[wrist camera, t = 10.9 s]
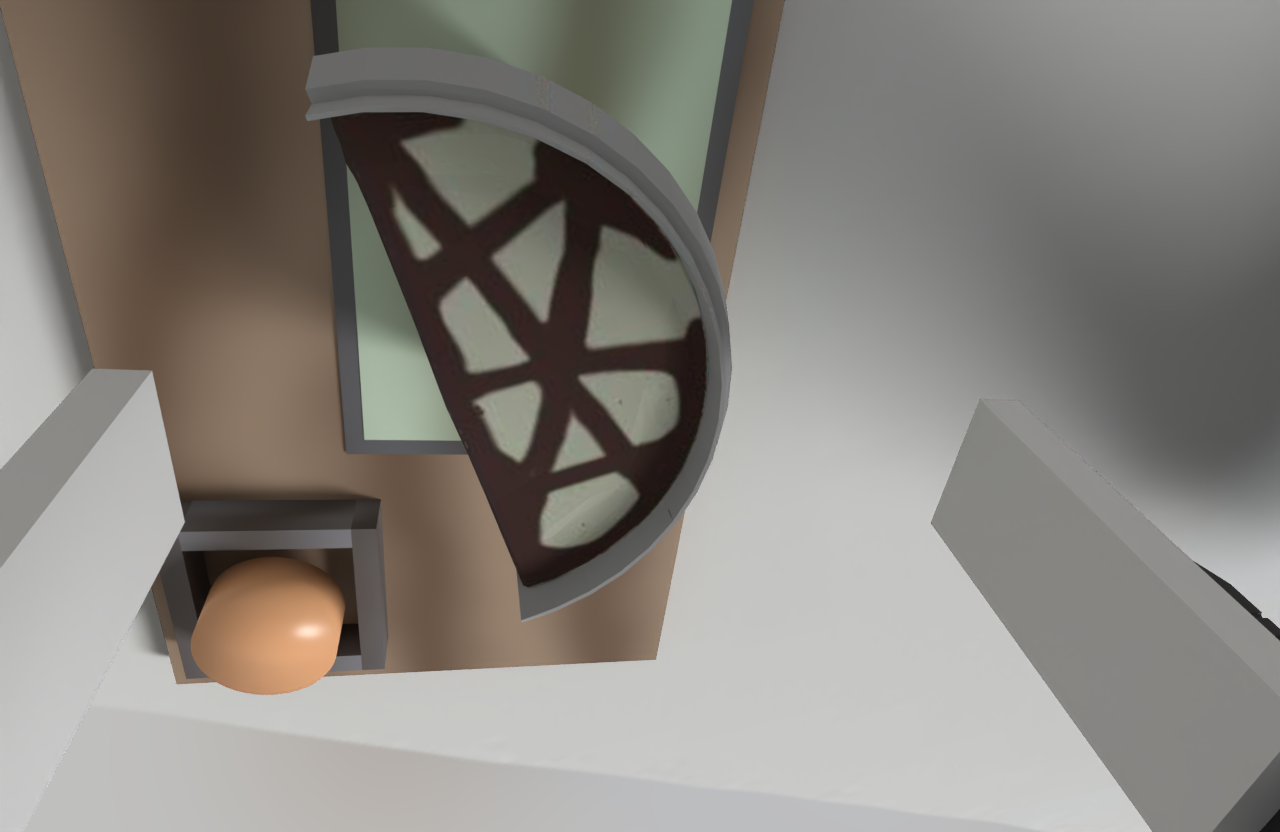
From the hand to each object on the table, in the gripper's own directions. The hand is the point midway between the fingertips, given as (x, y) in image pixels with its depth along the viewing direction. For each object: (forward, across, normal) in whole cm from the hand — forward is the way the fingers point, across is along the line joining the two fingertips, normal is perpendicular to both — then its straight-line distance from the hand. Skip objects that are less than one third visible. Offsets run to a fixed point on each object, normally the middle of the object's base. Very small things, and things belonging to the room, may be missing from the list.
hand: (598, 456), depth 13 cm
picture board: (+14, +4, +5) cm, 15 cm away
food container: (+12, 0, 0) cm, 13 cm away
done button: (+11, +9, +14) cm, 20 cm away
